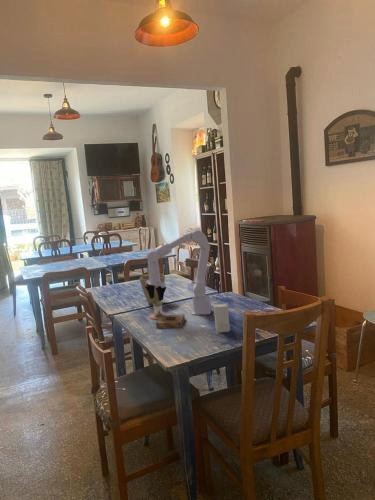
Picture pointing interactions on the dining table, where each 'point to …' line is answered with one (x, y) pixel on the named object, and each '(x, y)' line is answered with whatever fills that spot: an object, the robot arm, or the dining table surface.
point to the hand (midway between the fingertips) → (156, 299)
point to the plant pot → (155, 299)
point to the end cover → (157, 309)
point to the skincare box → (221, 318)
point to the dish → (155, 317)
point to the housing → (170, 321)
